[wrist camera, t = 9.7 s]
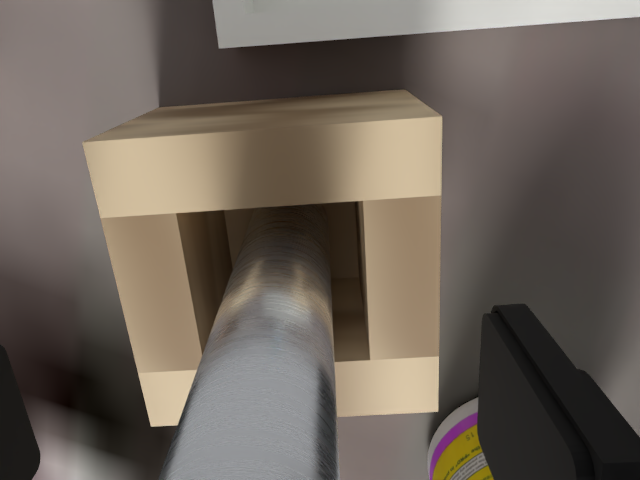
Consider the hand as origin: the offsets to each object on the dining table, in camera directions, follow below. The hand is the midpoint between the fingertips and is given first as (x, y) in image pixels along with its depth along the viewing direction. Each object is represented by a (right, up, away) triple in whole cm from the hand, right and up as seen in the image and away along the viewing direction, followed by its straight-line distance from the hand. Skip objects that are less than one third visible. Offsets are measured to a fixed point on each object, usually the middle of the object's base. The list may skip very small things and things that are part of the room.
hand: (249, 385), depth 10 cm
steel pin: (0, +3, +7) cm, 8 cm away
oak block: (0, +4, +8) cm, 9 cm away
